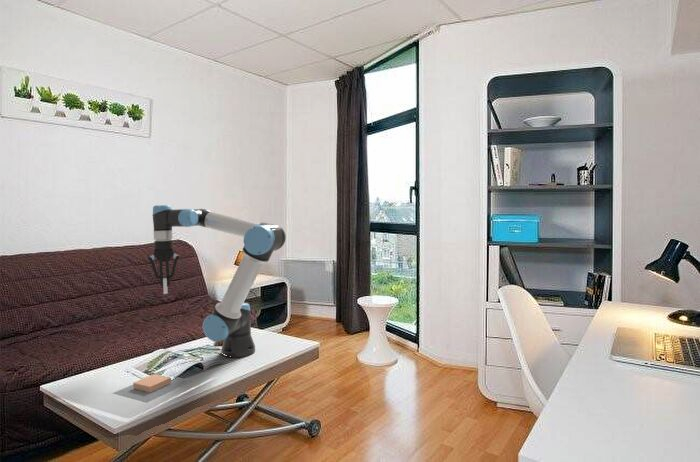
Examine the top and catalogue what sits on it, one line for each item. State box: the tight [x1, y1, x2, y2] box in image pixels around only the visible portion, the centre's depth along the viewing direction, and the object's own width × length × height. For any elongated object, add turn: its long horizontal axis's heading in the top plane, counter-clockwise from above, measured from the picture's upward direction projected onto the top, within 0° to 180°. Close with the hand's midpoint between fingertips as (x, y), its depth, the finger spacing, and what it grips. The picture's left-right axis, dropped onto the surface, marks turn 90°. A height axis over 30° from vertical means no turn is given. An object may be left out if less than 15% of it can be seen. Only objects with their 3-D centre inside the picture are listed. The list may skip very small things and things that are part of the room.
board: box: [113, 376, 193, 403], centre depth 158 cm, size 18×20×1 cm
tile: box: [132, 373, 171, 393], centre depth 158 cm, size 2×9×9 cm
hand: (165, 293), depth 189 cm, fingers closed
